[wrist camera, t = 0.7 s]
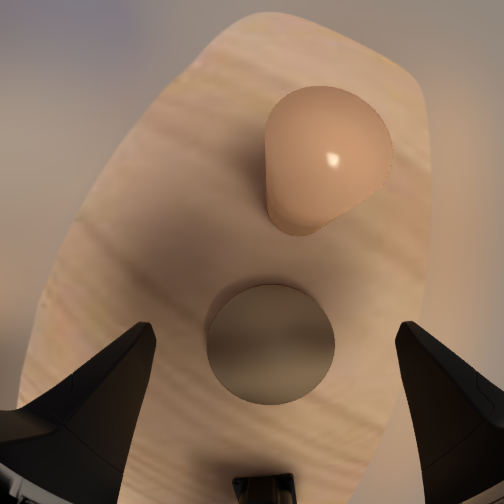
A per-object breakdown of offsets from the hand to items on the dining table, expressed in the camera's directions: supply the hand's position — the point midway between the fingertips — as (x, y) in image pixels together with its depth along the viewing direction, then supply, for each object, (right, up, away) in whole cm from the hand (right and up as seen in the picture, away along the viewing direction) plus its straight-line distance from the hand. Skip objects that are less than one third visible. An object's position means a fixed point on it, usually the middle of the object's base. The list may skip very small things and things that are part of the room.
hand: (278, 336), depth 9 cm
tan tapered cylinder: (+3, +7, +14) cm, 15 cm away
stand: (+1, -5, +13) cm, 14 cm away
